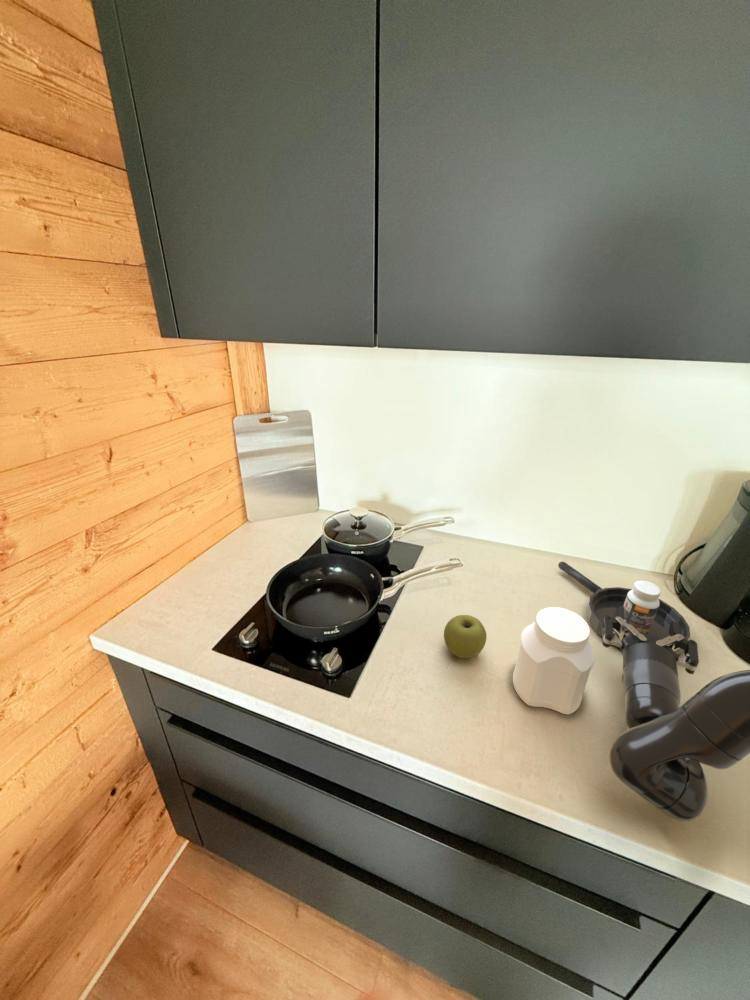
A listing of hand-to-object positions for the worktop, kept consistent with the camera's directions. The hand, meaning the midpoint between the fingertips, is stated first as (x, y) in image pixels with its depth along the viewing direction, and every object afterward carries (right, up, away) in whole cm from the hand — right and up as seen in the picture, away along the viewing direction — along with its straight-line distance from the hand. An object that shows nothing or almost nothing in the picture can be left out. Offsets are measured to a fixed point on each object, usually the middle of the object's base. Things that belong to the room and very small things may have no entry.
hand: (645, 617), depth 80 cm
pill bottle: (+3, -4, +9) cm, 10 cm away
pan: (+3, -5, +9) cm, 11 cm away
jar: (-21, -12, -4) cm, 24 cm away
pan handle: (-2, +3, +21) cm, 21 cm away
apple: (-34, -8, +3) cm, 35 cm away
